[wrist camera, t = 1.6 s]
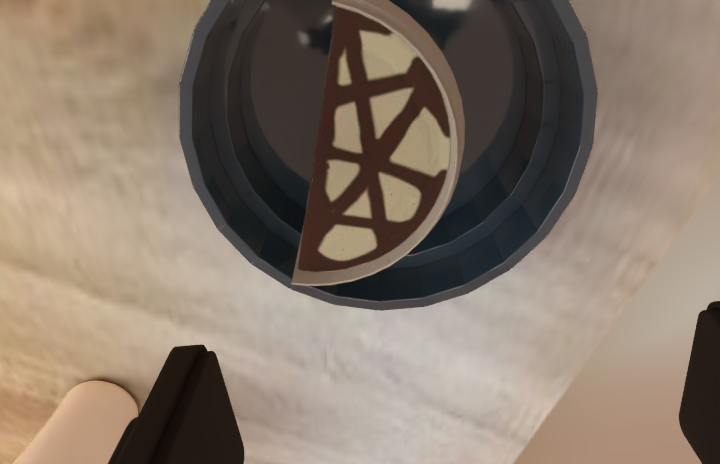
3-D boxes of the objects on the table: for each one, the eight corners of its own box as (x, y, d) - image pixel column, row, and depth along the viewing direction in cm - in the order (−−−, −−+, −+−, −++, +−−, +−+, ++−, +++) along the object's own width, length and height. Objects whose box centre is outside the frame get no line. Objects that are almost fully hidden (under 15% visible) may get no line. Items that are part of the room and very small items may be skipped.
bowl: (252, 260, 35) (230, 323, 29) (175, -64, 27) (122, -65, 21) (544, 233, 34) (581, 293, 28) (560, -114, 25) (617, -130, 20)
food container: (413, 215, 33) (430, 316, 24) (310, 198, 32) (289, 294, 24) (468, -7, 27) (517, 19, 18) (344, -31, 27) (334, -17, 18)
